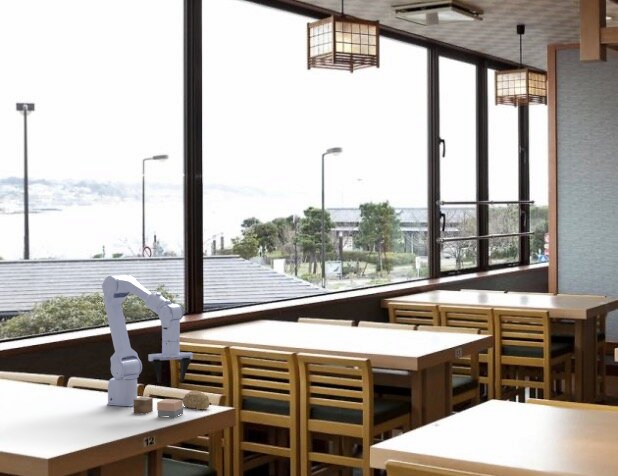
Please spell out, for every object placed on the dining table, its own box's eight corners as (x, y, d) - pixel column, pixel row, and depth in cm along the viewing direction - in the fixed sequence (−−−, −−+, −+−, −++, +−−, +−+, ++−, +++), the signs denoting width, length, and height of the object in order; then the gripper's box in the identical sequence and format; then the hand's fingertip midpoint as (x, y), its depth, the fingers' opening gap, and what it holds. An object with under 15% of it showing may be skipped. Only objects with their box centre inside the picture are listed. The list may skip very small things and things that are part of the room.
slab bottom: (157, 417, 304) (157, 409, 304) (166, 414, 310) (166, 406, 310) (174, 418, 302) (174, 411, 302) (183, 415, 308) (183, 407, 308)
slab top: (157, 410, 304) (157, 402, 304) (166, 406, 310) (165, 398, 310) (173, 411, 302) (173, 403, 302) (182, 407, 308) (182, 400, 308)
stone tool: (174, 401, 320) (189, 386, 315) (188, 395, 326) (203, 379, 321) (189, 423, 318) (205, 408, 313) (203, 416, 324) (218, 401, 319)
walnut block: (133, 413, 310) (133, 399, 310) (140, 410, 314) (140, 397, 314) (145, 414, 309) (145, 400, 309) (152, 411, 313) (152, 397, 313)
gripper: (151, 342, 307) (151, 384, 307) (195, 341, 312) (195, 382, 313) (147, 340, 313) (146, 381, 314) (189, 338, 319) (189, 378, 319)
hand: (170, 381), depth 314 cm, fingers open, 7 cm apart
